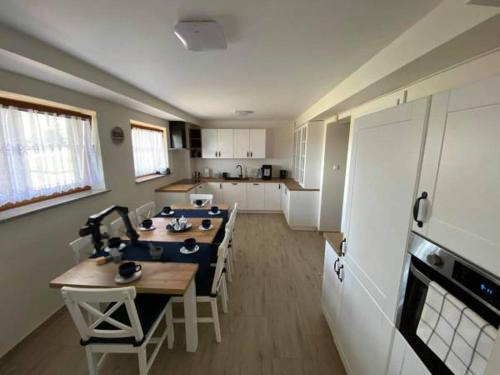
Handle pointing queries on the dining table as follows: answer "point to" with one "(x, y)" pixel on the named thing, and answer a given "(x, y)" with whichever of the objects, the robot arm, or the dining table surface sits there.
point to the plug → (105, 259)
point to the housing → (115, 255)
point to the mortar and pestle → (155, 251)
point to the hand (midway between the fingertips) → (98, 251)
